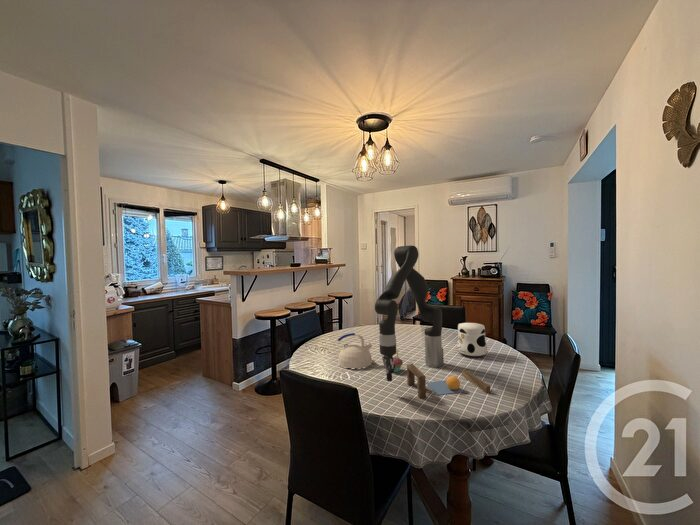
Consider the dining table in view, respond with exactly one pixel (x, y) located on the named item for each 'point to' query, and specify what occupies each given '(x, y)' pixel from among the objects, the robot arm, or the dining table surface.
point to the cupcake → (397, 363)
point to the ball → (453, 382)
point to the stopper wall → (476, 381)
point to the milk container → (471, 339)
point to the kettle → (355, 354)
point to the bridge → (421, 379)
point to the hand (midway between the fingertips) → (389, 380)
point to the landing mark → (442, 388)
